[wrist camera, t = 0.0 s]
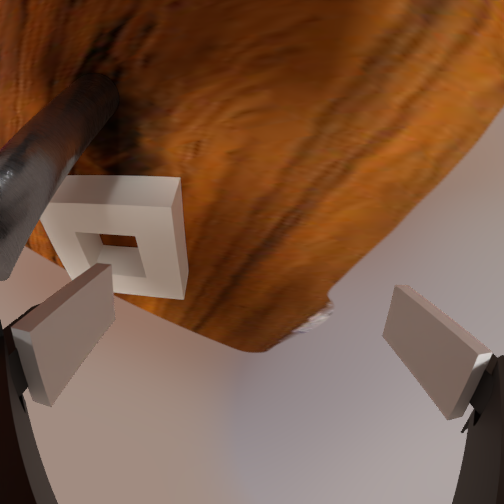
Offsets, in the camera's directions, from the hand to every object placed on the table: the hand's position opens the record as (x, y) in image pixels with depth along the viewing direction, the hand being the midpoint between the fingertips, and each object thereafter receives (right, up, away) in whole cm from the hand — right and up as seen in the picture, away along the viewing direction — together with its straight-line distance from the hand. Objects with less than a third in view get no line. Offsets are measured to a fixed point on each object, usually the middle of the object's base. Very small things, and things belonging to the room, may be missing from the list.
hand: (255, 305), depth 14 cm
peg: (-13, +15, +7) cm, 20 cm away
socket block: (-14, +5, +18) cm, 24 cm away
